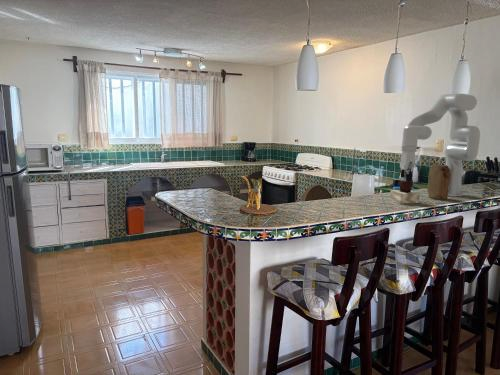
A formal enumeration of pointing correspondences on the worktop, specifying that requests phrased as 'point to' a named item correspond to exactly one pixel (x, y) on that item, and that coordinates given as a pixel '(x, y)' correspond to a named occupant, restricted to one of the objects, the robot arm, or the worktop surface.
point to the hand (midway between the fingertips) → (406, 179)
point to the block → (439, 182)
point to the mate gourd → (405, 184)
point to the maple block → (404, 197)
